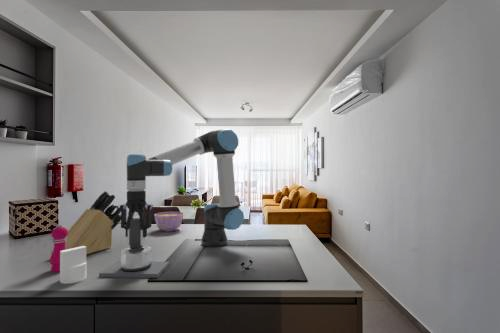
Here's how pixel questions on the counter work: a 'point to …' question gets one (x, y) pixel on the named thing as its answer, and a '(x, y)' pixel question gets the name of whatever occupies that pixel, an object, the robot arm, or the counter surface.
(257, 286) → the counter surface
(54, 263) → the pepper mill
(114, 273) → the grey rectangular board
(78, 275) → the cylinder with rectangular tab
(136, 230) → the dark grey tall cylinder
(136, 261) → the light gray faceted ring
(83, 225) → the knife block
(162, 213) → the bowl of food
